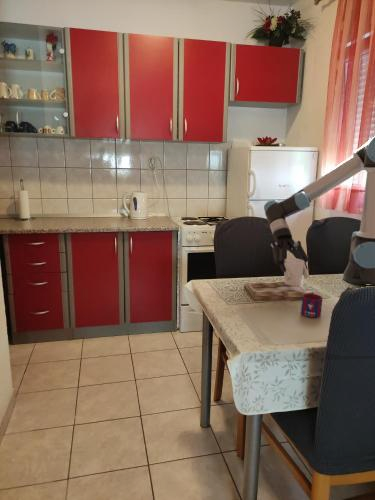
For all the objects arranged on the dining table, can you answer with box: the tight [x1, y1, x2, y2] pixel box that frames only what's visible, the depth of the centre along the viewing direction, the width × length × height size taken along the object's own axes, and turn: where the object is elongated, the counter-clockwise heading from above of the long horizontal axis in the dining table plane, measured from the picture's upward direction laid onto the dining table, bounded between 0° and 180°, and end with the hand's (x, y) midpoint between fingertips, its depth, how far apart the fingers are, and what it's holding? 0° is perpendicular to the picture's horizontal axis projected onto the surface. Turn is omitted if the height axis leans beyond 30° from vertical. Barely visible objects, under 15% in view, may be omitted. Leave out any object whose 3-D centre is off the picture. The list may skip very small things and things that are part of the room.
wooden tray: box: [243, 280, 314, 301], centre depth 152 cm, size 24×17×3 cm
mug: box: [300, 292, 323, 319], centre depth 130 cm, size 7×10×7 cm
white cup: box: [283, 257, 305, 286], centre depth 151 cm, size 8×8×10 cm
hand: (297, 277), depth 148 cm, fingers closed on white cup, 8 cm apart
